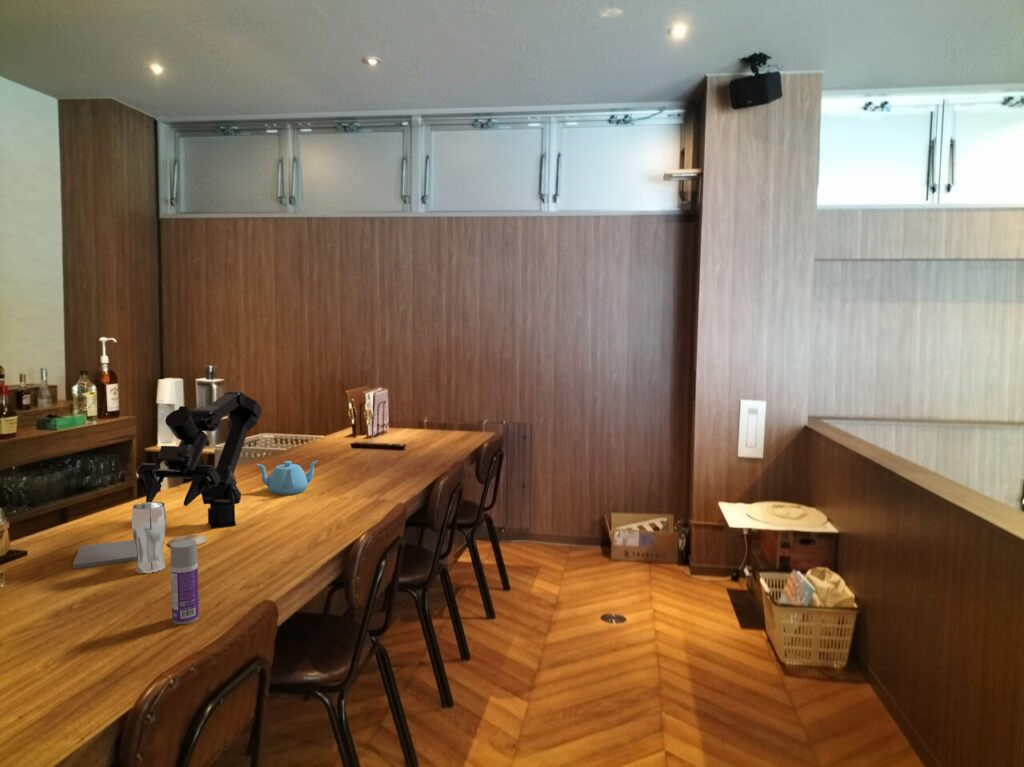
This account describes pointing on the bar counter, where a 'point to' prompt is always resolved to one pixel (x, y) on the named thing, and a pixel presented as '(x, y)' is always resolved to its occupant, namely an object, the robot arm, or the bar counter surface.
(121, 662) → the bar counter surface
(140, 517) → the beer glass
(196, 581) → the container
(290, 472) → the teapot
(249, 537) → the bar counter surface
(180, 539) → the metal coaster
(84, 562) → the slate board
